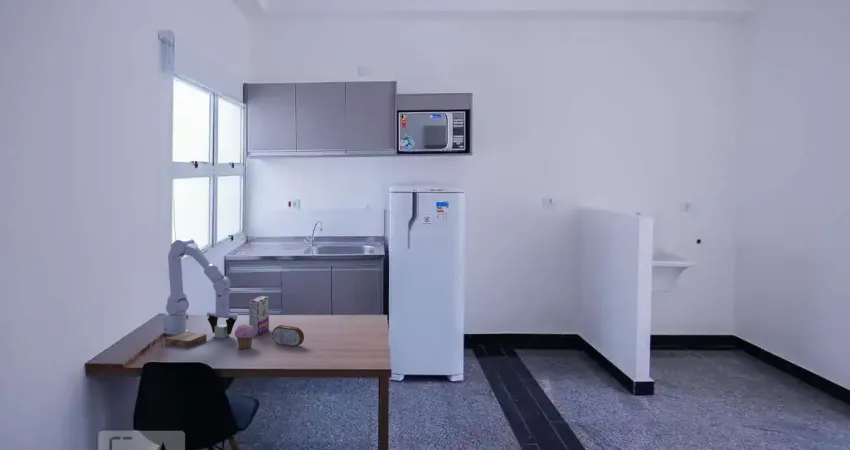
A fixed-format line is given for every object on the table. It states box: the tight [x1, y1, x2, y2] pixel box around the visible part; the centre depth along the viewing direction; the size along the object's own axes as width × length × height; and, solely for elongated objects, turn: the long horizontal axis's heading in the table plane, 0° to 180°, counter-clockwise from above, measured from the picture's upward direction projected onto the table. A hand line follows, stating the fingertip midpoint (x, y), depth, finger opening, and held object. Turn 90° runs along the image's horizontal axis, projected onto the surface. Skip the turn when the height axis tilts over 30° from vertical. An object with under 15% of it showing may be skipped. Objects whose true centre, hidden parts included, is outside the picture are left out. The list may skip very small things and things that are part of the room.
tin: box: [271, 324, 305, 347], centre depth 270 cm, size 15×3×8 cm, turn 71°
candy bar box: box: [248, 295, 270, 337], centre depth 288 cm, size 11×5×16 cm, turn 168°
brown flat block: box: [164, 331, 207, 349], centre depth 268 cm, size 12×12×3 cm
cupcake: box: [234, 324, 256, 350], centre depth 264 cm, size 9×9×10 cm
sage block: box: [214, 324, 230, 339], centre depth 280 cm, size 4×4×5 cm
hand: (221, 333), depth 280 cm, fingers open, 7 cm apart
